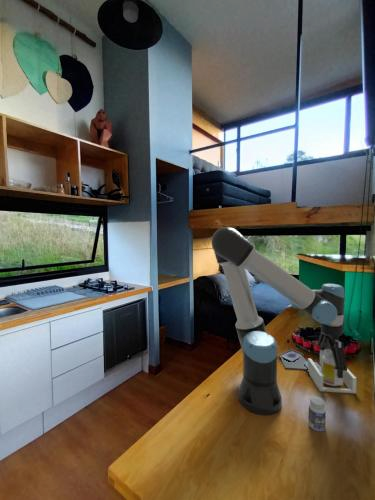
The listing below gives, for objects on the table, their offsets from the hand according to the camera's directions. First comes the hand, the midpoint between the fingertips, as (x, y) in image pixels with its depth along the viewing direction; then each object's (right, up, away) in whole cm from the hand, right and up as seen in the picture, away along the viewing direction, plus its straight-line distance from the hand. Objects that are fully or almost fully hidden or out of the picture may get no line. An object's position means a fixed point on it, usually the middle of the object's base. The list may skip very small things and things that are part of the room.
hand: (330, 374), depth 98 cm
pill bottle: (-17, -5, -22) cm, 28 cm away
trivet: (-8, -2, +14) cm, 17 cm away
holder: (0, -3, 0) cm, 3 cm away
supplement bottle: (0, -3, 0) cm, 4 cm away
